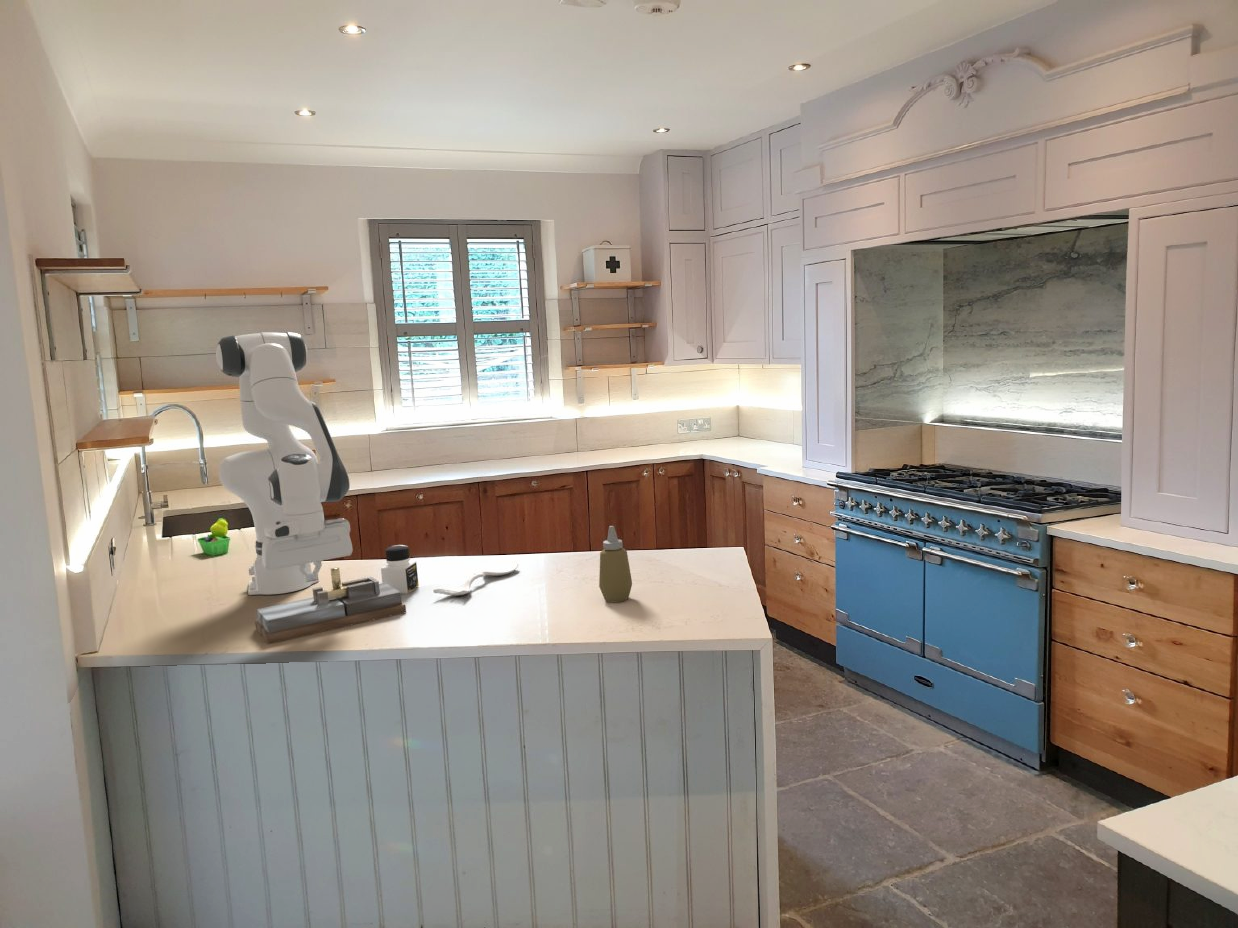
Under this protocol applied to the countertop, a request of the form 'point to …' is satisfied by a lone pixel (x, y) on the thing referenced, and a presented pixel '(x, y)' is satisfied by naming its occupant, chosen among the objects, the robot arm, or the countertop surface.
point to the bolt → (337, 585)
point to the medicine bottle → (400, 569)
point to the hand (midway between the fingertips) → (311, 580)
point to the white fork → (493, 570)
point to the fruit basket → (216, 539)
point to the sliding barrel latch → (329, 610)
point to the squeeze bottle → (614, 569)
